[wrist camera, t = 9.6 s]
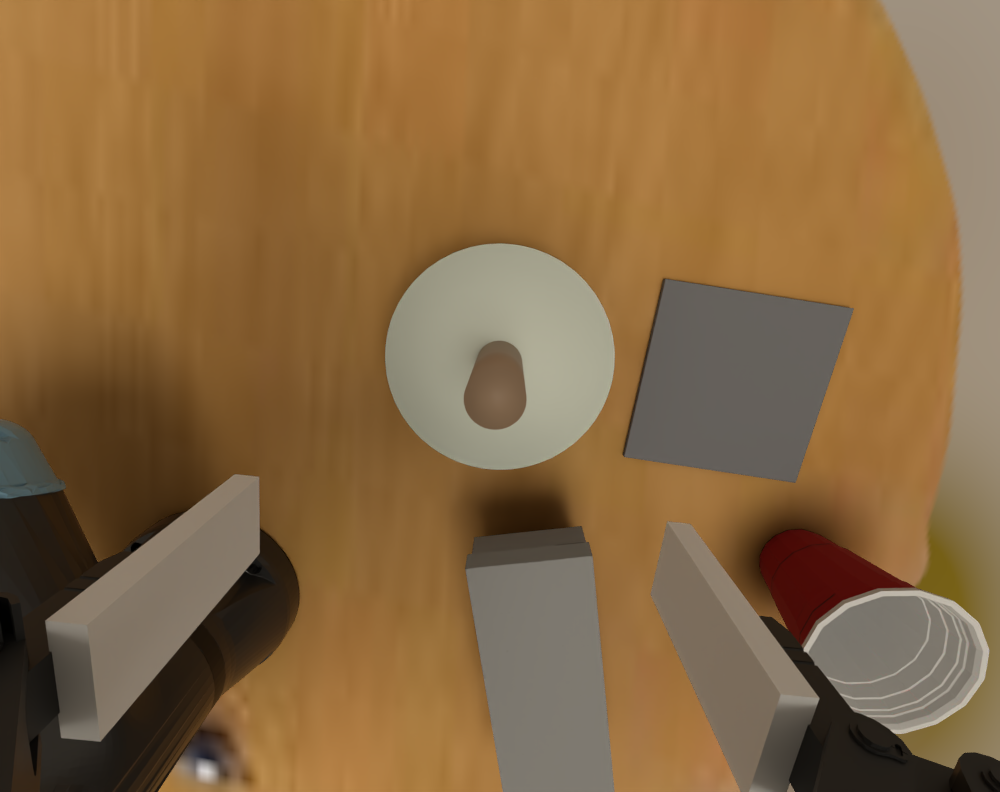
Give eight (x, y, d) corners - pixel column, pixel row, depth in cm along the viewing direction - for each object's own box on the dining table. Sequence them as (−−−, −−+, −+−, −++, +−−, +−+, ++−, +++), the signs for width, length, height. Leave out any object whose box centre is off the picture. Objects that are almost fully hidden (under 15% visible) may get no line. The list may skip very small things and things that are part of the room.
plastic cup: (741, 493, 40) (834, 586, 29) (871, 507, 40) (1017, 604, 29) (713, 605, 43) (788, 731, 31) (835, 618, 43) (954, 747, 32)
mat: (622, 454, 40) (624, 456, 39) (663, 278, 36) (665, 279, 35) (791, 480, 40) (795, 482, 39) (849, 308, 36) (853, 308, 36)
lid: (378, 448, 35) (328, 517, 25) (399, 226, 31) (349, 209, 21) (587, 479, 35) (616, 559, 25) (634, 263, 31) (688, 262, 21)
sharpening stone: (477, 490, 41) (465, 568, 30) (571, 480, 40) (592, 555, 30) (513, 727, 47) (514, 859, 36) (595, 720, 47) (620, 852, 36)
